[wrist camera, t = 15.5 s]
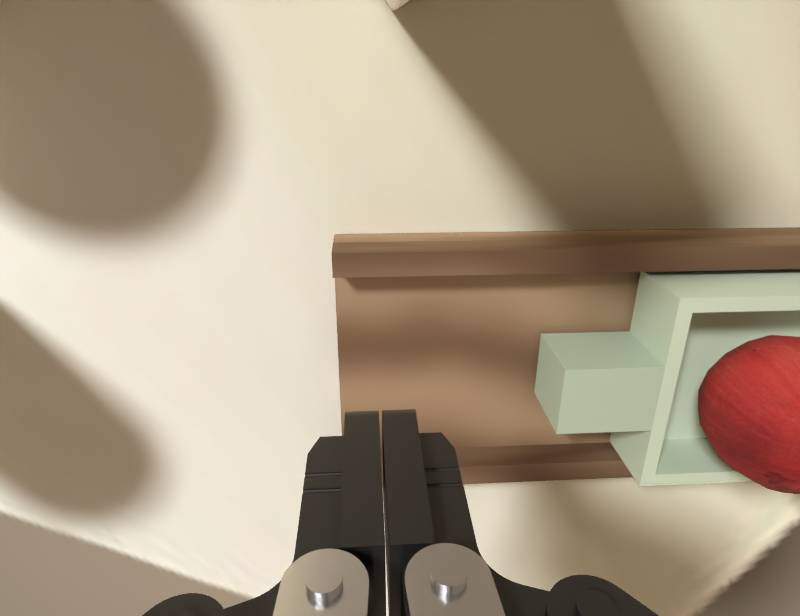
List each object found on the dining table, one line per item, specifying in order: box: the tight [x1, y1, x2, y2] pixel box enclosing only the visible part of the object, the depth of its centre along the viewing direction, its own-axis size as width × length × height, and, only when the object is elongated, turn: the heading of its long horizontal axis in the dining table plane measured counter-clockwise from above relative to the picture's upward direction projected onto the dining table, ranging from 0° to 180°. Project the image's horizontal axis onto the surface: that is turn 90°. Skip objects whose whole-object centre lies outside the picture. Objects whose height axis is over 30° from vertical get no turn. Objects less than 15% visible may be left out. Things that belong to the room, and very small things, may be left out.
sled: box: [534, 269, 800, 486], centre depth 24 cm, size 9×13×3 cm
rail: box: [332, 228, 800, 487], centre depth 24 cm, size 11×23×6 cm, turn 90°
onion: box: [698, 335, 800, 494], centre depth 21 cm, size 6×6×8 cm
